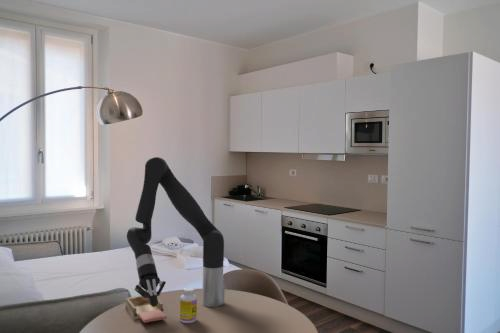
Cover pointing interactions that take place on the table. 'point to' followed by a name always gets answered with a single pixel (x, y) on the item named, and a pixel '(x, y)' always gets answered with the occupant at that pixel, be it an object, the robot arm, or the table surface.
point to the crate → (140, 306)
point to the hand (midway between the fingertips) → (154, 305)
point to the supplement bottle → (188, 305)
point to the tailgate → (152, 316)
